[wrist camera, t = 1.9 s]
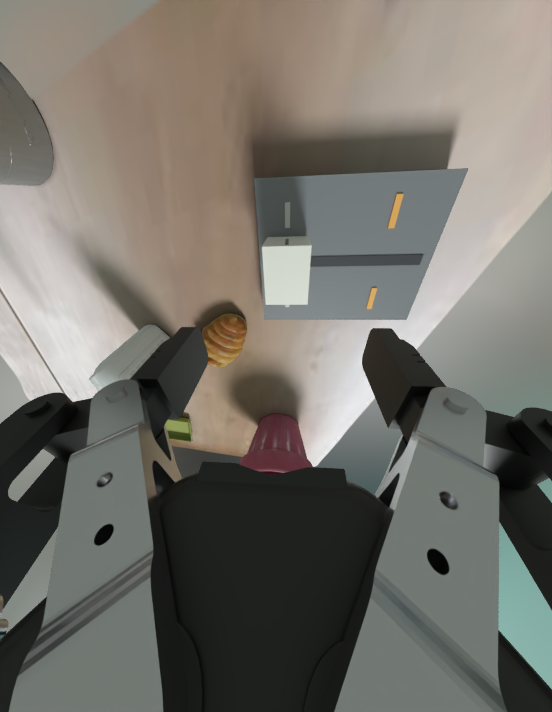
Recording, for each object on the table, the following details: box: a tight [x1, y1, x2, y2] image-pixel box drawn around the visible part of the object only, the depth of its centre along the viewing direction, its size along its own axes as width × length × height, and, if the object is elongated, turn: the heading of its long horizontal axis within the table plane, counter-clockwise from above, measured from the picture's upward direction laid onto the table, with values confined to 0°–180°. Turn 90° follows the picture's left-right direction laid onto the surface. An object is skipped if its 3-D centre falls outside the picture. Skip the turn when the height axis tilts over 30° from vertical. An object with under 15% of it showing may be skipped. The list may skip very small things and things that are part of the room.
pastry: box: [202, 313, 247, 367], centre depth 31 cm, size 9×7×4 cm
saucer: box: [165, 417, 193, 442], centre depth 49 cm, size 9×9×2 cm
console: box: [254, 168, 468, 320], centre depth 23 cm, size 18×14×3 cm
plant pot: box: [240, 414, 313, 475], centre depth 42 cm, size 14×14×13 cm
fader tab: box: [262, 236, 312, 305], centre depth 20 cm, size 4×5×5 cm
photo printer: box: [89, 325, 170, 391], centre depth 30 cm, size 10×4×12 cm, turn 32°
